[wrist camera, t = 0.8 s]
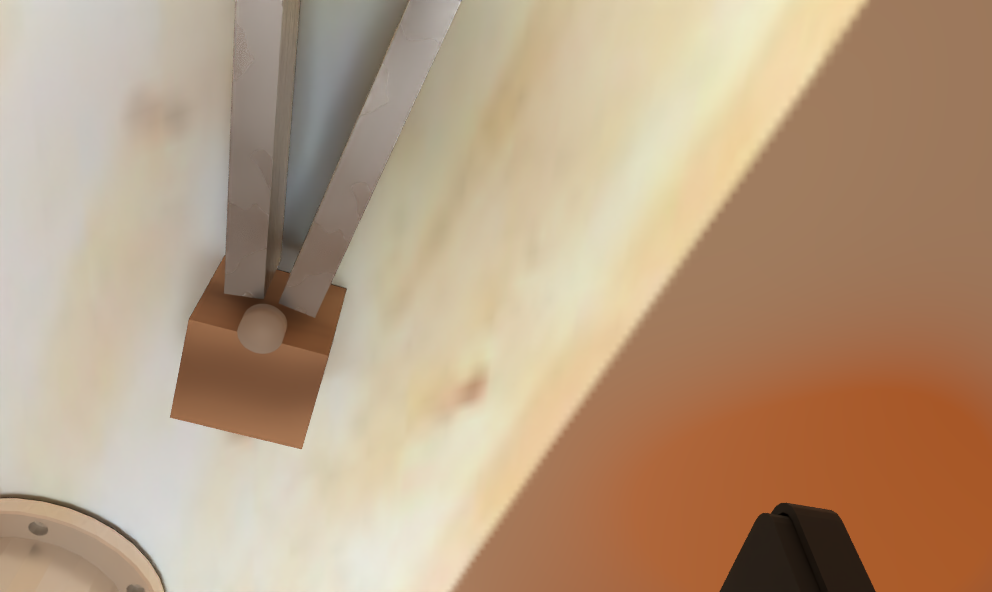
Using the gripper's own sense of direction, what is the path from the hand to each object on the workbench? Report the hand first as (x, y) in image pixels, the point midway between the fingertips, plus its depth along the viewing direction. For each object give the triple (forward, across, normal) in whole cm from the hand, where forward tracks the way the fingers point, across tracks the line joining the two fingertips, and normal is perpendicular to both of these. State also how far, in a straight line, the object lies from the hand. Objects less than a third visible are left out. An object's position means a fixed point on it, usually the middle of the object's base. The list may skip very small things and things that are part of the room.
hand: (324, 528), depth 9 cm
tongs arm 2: (+24, +5, 0) cm, 24 cm away
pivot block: (+24, +4, +13) cm, 28 cm away
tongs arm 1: (+24, +1, +1) cm, 24 cm away
